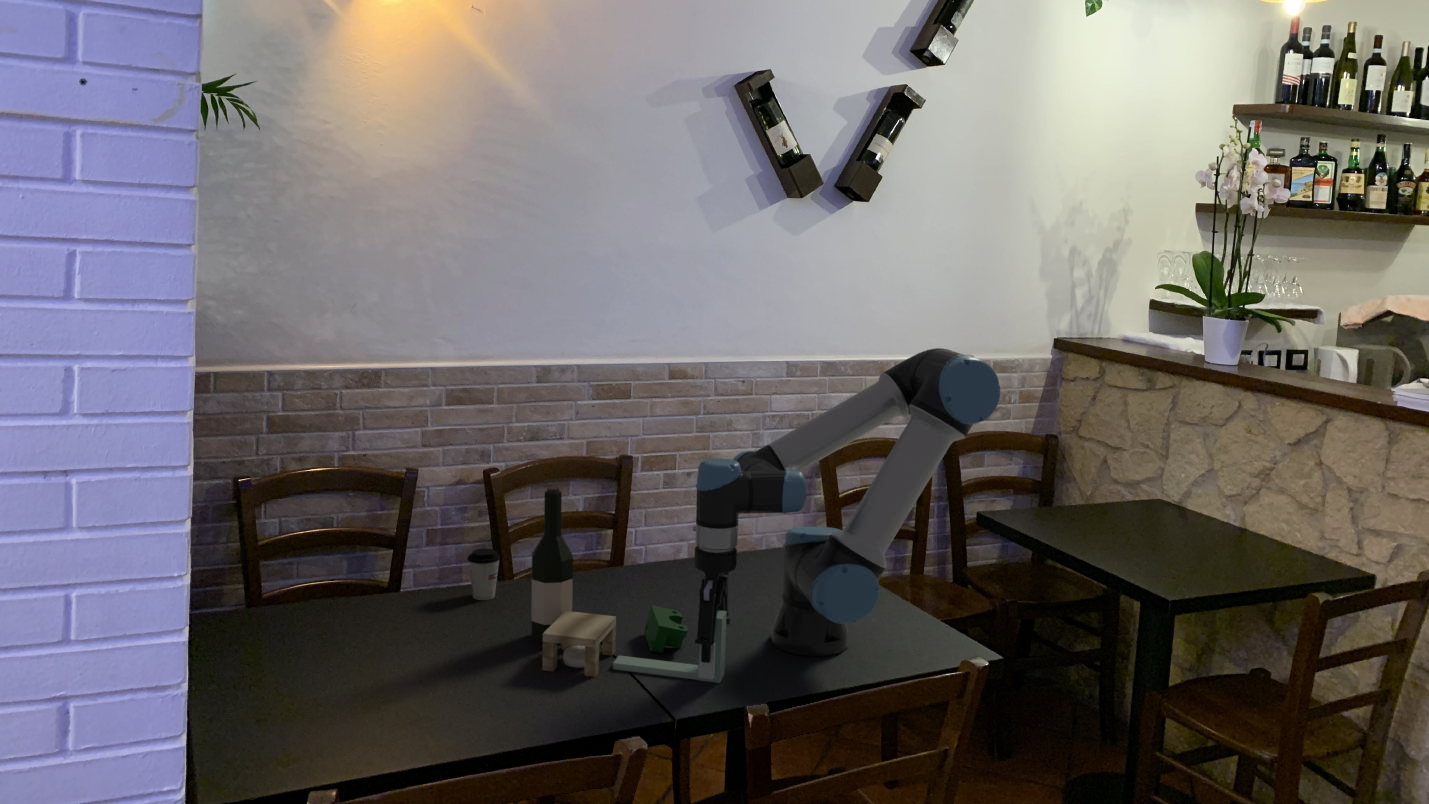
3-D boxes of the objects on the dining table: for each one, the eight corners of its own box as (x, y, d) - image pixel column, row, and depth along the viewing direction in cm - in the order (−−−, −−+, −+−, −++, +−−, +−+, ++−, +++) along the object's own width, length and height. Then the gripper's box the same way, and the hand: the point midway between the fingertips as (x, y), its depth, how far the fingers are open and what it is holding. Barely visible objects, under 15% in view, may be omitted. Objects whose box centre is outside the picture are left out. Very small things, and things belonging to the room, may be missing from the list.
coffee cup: (462, 600, 228) (461, 555, 226) (474, 589, 235) (474, 545, 233) (493, 603, 227) (493, 557, 225) (505, 592, 233) (505, 548, 232)
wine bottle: (564, 647, 204) (566, 495, 199) (523, 643, 206) (524, 491, 201) (578, 632, 212) (581, 485, 208) (539, 627, 214) (540, 481, 209)
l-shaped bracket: (724, 674, 195) (726, 611, 193) (719, 682, 191) (722, 618, 189) (619, 661, 199) (620, 599, 197) (612, 669, 195) (613, 606, 193)
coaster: (600, 657, 201) (600, 647, 201) (589, 670, 195) (590, 660, 195) (570, 654, 202) (570, 644, 202) (558, 666, 196) (558, 656, 196)
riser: (615, 651, 203) (616, 616, 202) (595, 676, 192) (595, 639, 191) (565, 645, 205) (566, 610, 204) (542, 670, 194) (542, 633, 193)
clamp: (674, 671, 206) (689, 638, 202) (645, 665, 205) (659, 632, 200) (672, 627, 216) (686, 595, 212) (644, 621, 215) (658, 588, 210)
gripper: (708, 528, 200) (704, 644, 204) (681, 561, 180) (677, 689, 184) (747, 532, 199) (742, 648, 202) (724, 566, 179) (719, 694, 182)
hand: (711, 667), depth 193 cm, fingers open, 8 cm apart
